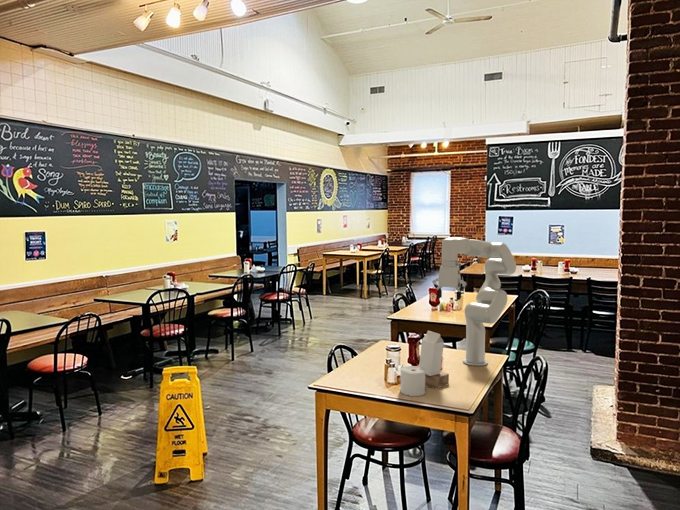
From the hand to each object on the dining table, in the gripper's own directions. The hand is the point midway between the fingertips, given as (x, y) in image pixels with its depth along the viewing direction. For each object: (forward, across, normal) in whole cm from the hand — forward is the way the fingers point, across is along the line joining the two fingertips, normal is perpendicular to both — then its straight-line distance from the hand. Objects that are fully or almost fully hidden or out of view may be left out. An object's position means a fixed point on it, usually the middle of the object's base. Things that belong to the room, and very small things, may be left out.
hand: (448, 298), depth 242 cm
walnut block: (+37, -1, +20) cm, 42 cm away
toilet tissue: (+36, +2, +36) cm, 51 cm away
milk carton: (+31, 0, +22) cm, 38 cm away
